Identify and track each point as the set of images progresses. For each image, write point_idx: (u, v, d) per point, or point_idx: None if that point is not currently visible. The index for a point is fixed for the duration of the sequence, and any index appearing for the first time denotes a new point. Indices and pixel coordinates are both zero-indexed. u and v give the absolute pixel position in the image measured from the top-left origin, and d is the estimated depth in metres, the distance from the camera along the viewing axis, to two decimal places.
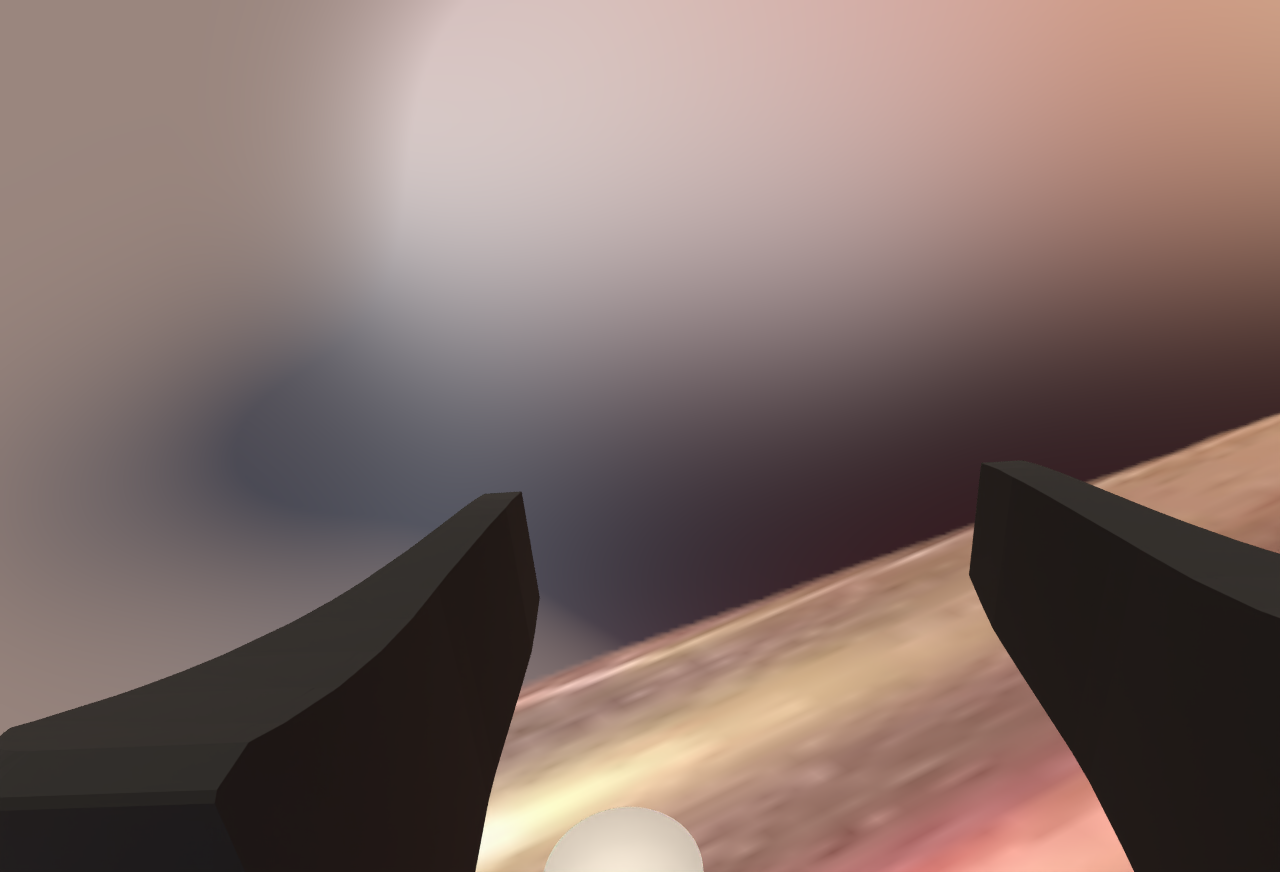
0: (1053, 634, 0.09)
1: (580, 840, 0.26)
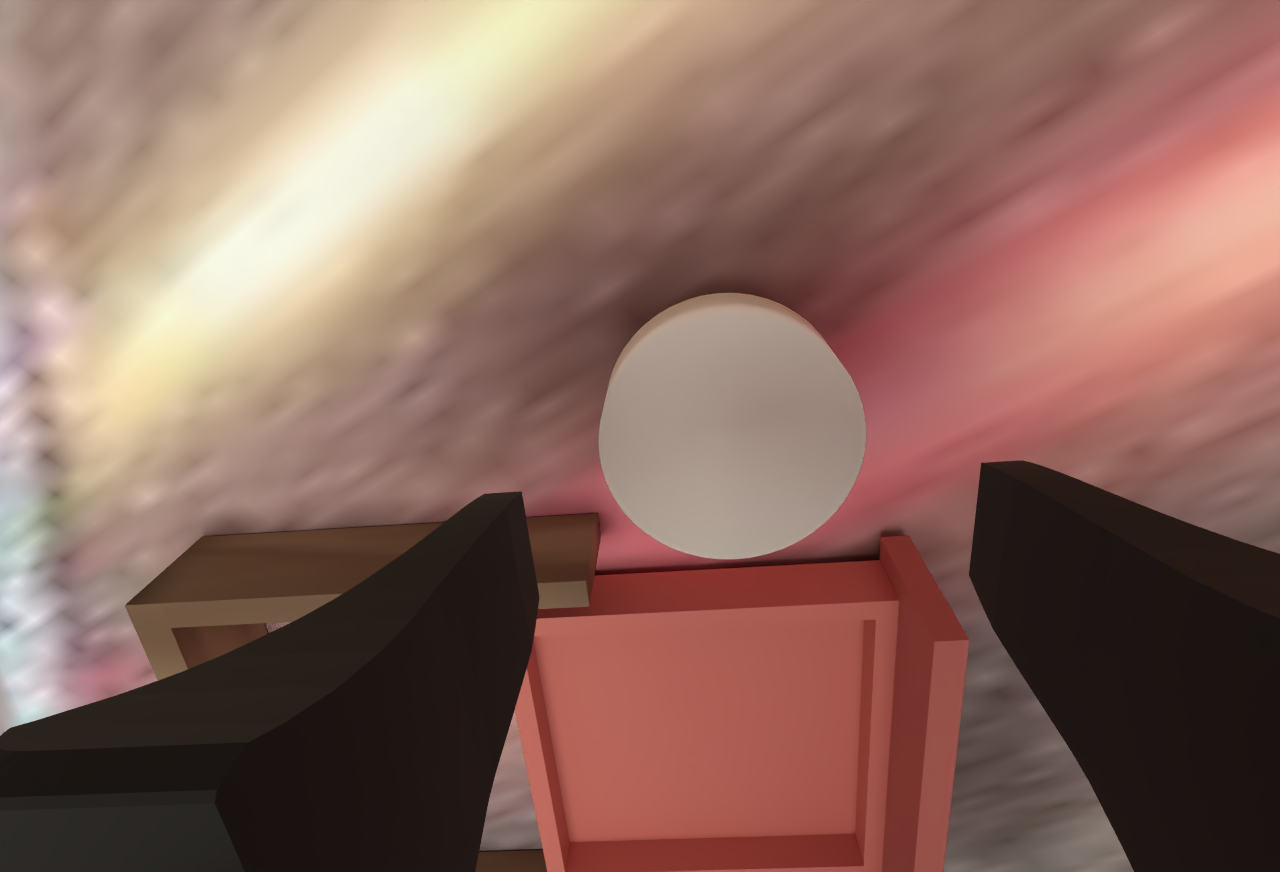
0: (1053, 635, 0.09)
1: (648, 393, 0.14)
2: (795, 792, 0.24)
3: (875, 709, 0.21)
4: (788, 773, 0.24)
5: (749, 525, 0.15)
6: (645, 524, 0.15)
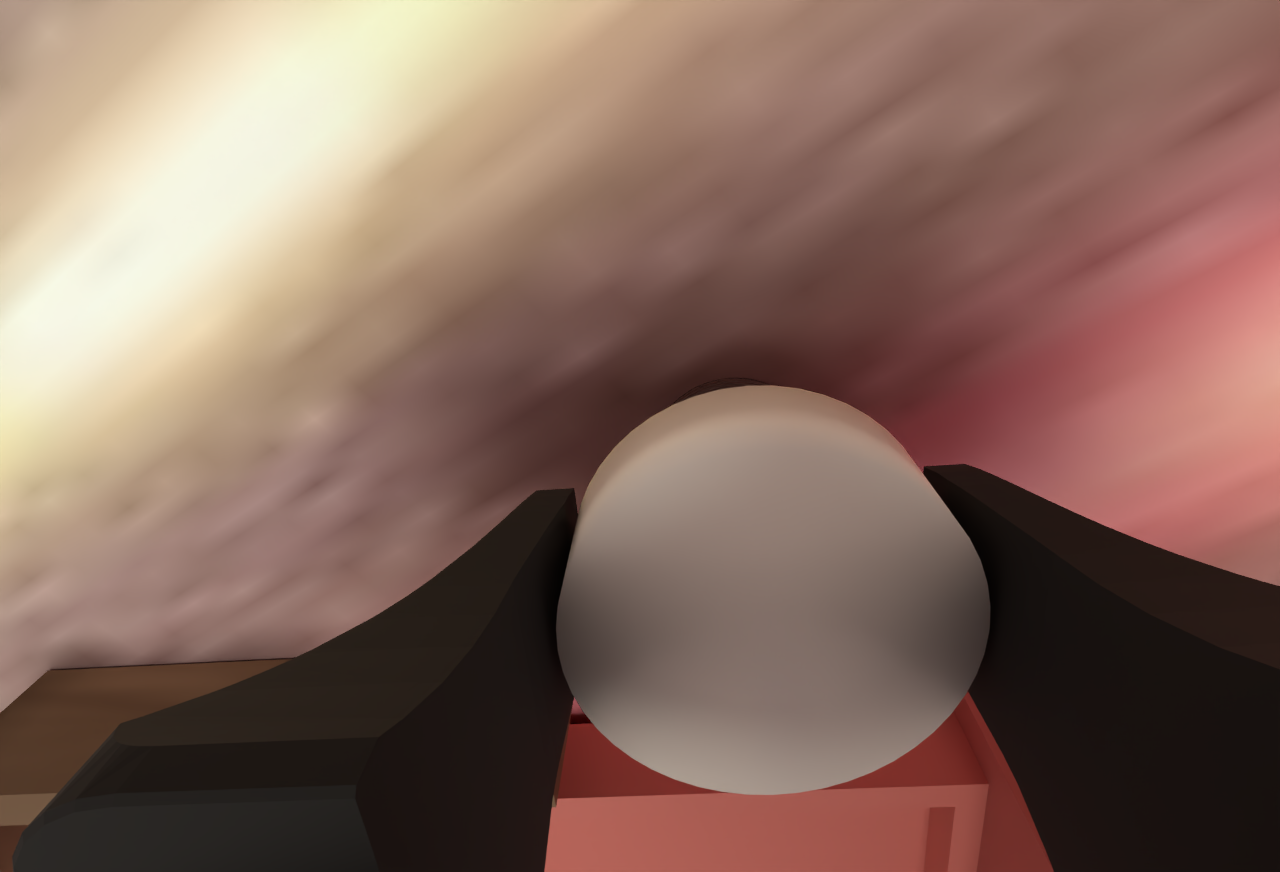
0: None
1: (635, 562, 0.09)
2: None
3: None
4: None
5: (794, 750, 0.10)
6: (632, 747, 0.10)
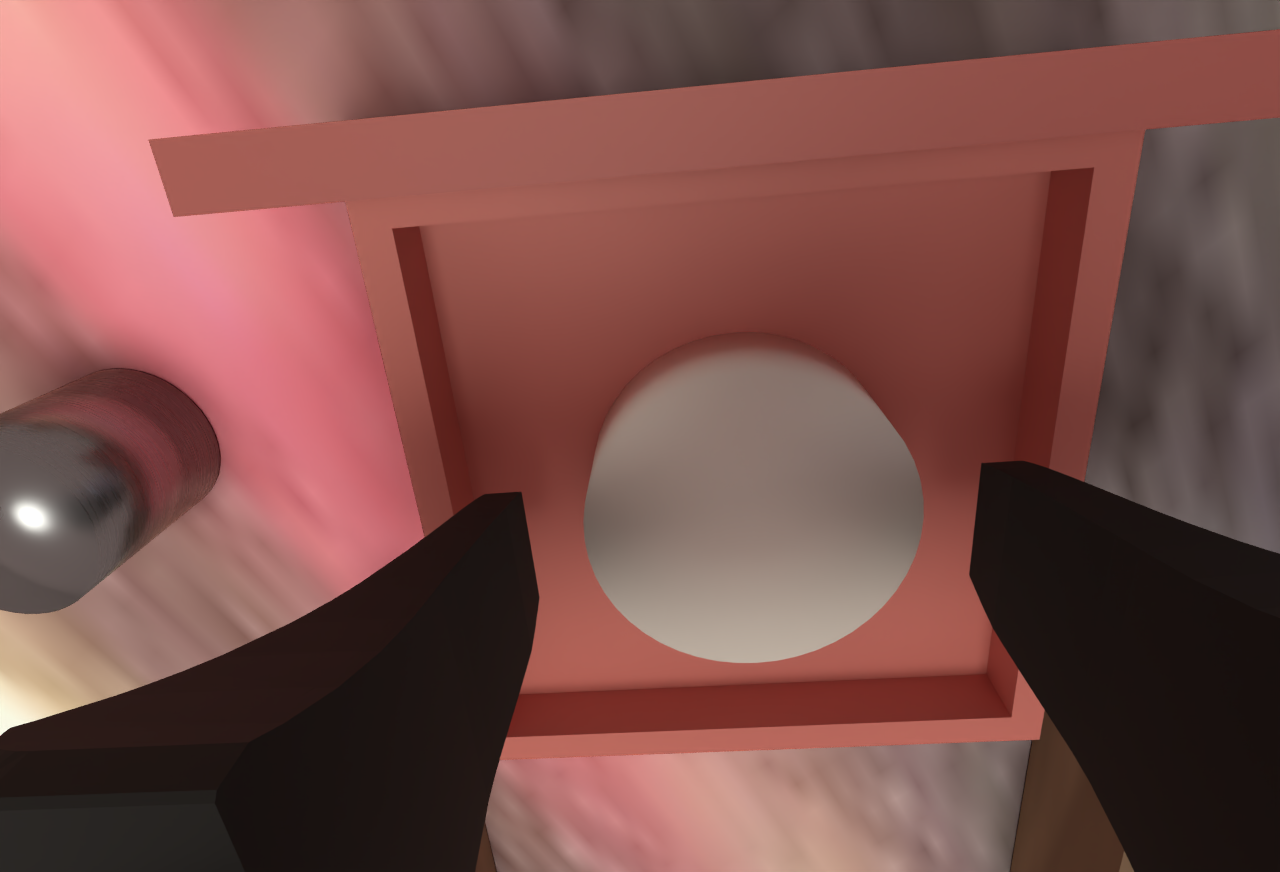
0: (1053, 635, 0.09)
1: (645, 465, 0.11)
2: (907, 304, 0.12)
3: (611, 199, 0.10)
4: (853, 321, 0.12)
5: (773, 623, 0.12)
6: (643, 623, 0.12)
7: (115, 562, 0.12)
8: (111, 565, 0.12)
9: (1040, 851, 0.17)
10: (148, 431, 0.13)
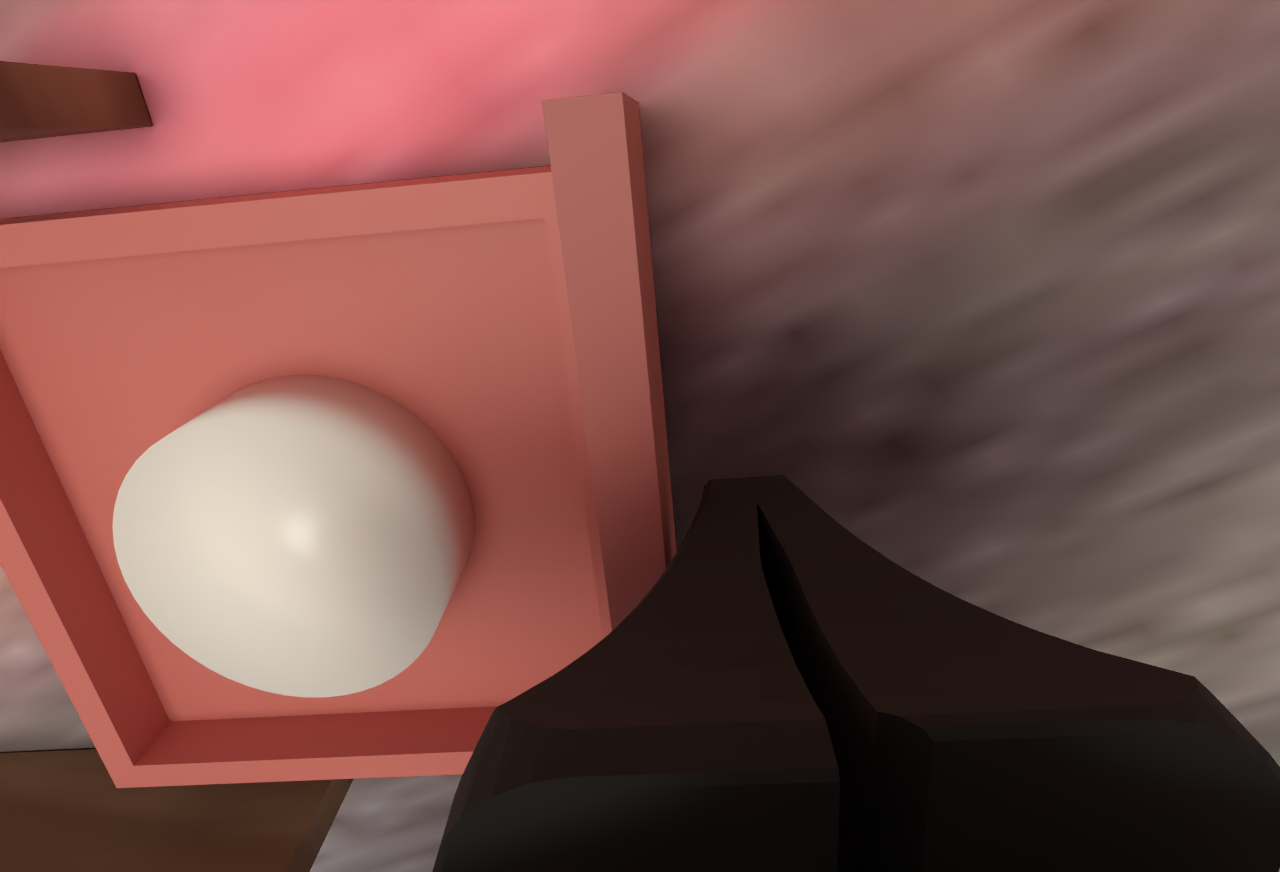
0: None
1: (328, 478, 0.11)
2: (510, 626, 0.15)
3: (582, 429, 0.12)
4: (491, 590, 0.14)
5: (178, 593, 0.12)
6: (138, 476, 0.11)
7: None
8: None
9: (14, 787, 0.17)
10: None
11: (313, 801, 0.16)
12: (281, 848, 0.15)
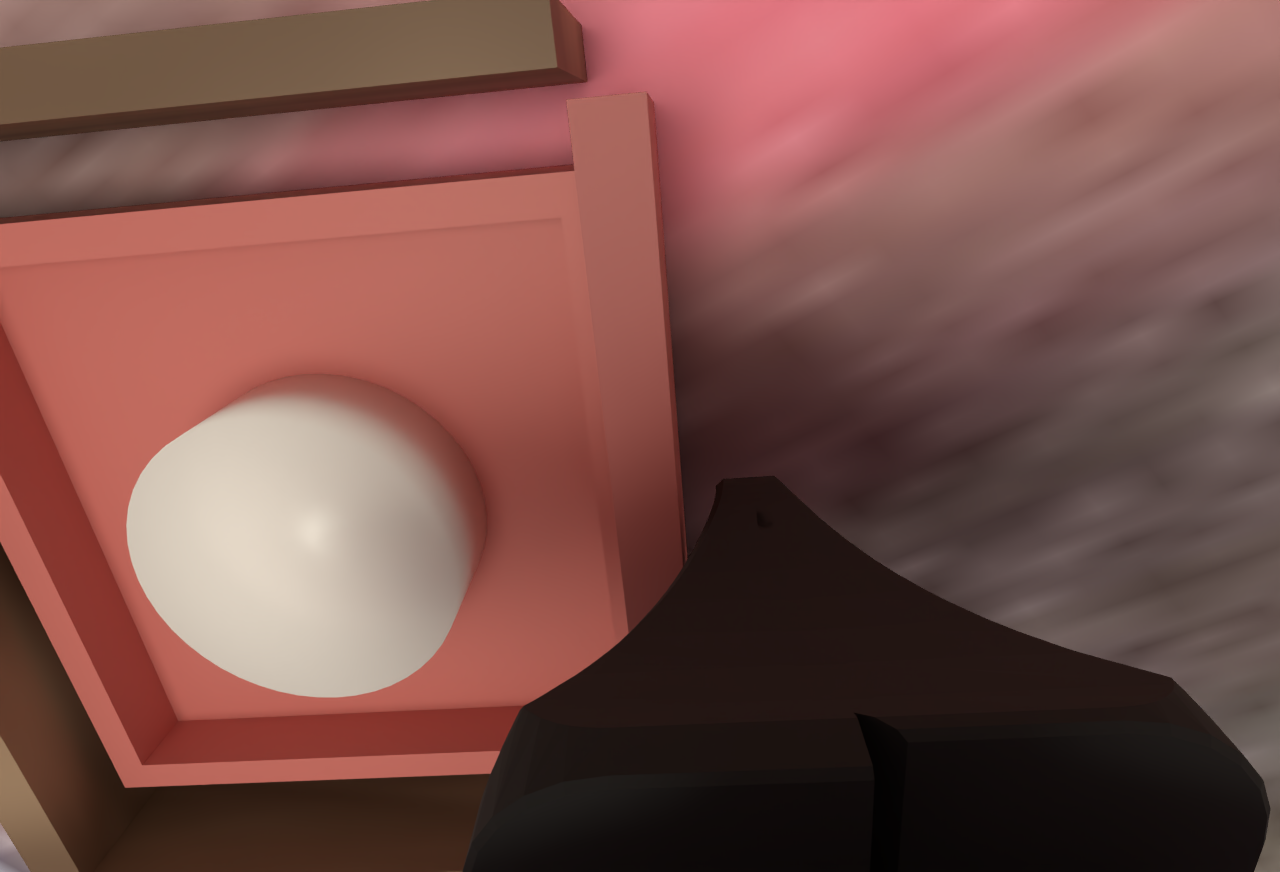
0: None
1: (344, 478, 0.11)
2: (520, 626, 0.15)
3: (596, 429, 0.12)
4: (502, 590, 0.14)
5: (192, 591, 0.12)
6: (153, 474, 0.11)
7: None
8: None
9: None
10: None
11: None
12: None
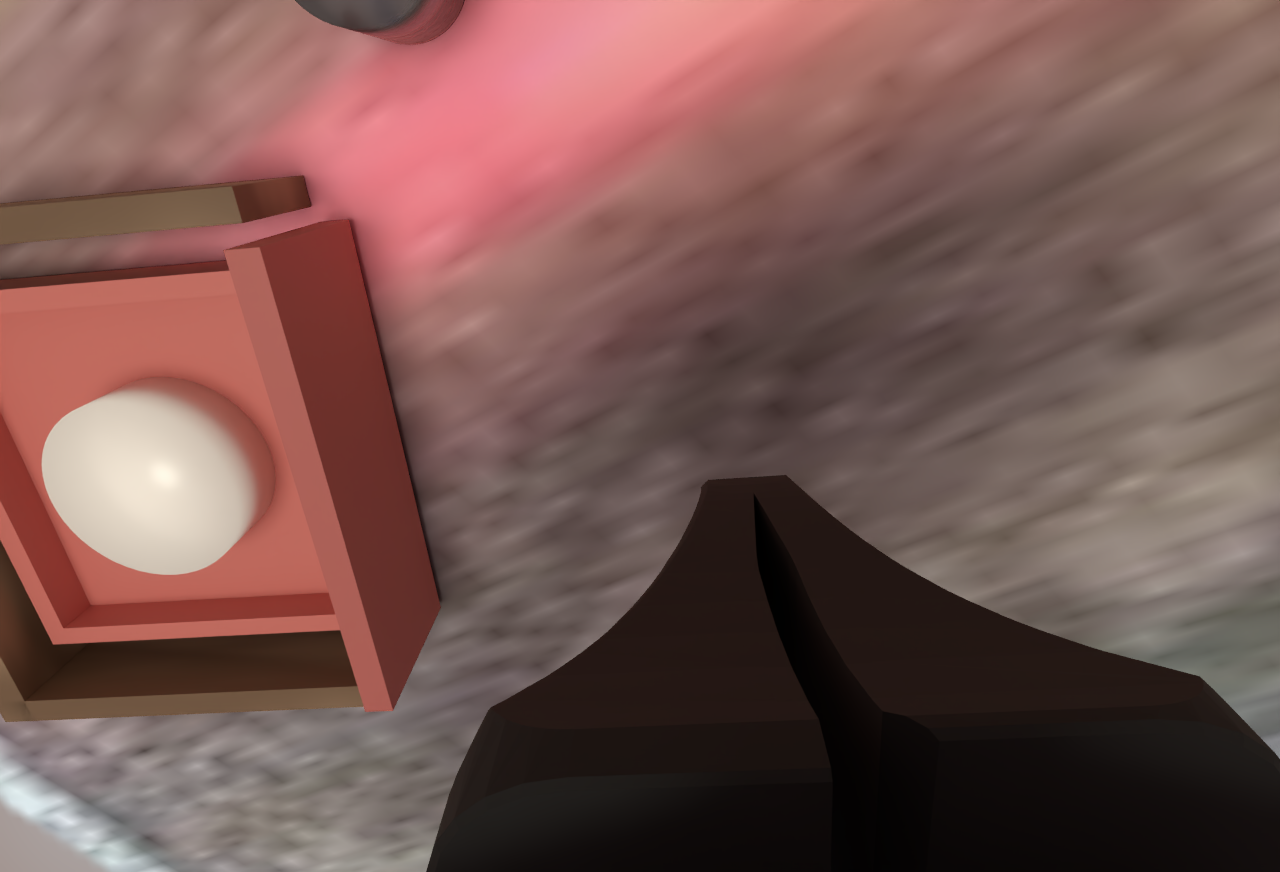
0: None
1: (166, 437, 0.19)
2: (304, 538, 0.23)
3: None
4: (290, 514, 0.23)
5: (82, 506, 0.20)
6: (56, 434, 0.19)
7: None
8: None
9: (182, 644, 0.25)
10: (426, 25, 0.17)
11: None
12: None
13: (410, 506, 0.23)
